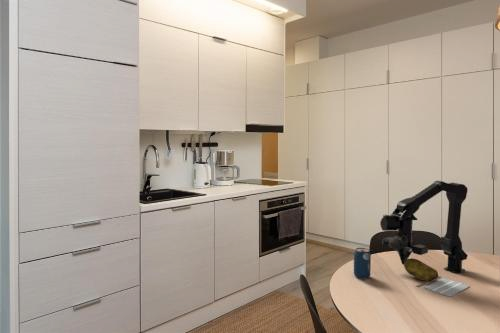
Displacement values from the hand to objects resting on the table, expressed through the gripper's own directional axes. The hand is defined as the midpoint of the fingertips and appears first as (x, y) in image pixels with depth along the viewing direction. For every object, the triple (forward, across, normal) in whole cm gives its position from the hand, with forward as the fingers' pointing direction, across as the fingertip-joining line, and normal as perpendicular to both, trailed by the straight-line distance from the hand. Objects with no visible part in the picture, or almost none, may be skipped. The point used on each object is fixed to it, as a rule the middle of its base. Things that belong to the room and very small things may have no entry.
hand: (403, 264), depth 162 cm
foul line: (+4, +12, 0) cm, 12 cm away
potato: (+4, +8, 0) cm, 9 cm away
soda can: (+4, -8, -18) cm, 20 cm away
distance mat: (+4, +19, 0) cm, 19 cm away
